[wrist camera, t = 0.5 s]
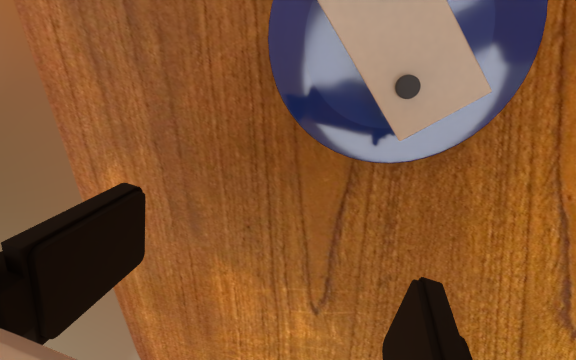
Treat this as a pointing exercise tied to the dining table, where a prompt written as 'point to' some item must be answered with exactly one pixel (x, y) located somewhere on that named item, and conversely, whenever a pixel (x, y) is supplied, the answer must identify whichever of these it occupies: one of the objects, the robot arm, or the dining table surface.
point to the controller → (409, 58)
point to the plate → (357, 97)
